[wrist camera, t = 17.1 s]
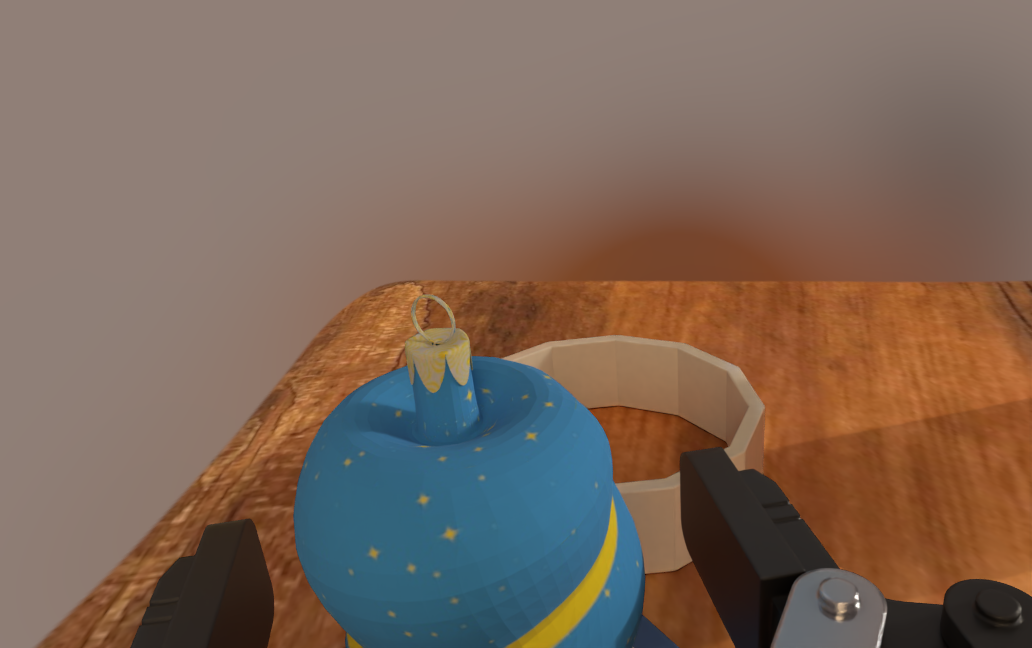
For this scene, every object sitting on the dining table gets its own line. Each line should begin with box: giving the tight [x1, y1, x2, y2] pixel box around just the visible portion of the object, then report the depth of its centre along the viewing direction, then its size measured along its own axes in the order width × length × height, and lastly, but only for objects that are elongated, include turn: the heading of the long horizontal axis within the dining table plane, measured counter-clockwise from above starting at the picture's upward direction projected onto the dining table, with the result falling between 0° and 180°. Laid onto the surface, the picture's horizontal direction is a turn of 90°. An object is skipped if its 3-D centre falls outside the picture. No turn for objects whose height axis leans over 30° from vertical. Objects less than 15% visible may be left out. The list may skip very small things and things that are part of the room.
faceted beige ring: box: [502, 335, 765, 574], centre depth 32 cm, size 12×12×4 cm
